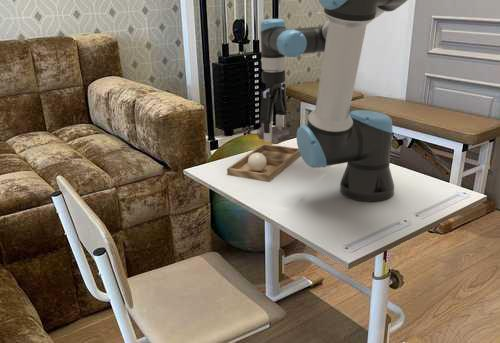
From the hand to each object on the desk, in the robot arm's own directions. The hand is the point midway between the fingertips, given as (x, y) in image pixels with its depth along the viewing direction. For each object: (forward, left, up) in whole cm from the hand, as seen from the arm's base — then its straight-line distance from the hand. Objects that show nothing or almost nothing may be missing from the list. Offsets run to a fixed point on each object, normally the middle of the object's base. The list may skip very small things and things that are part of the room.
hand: (274, 137), depth 166 cm
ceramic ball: (0, +13, -7) cm, 15 cm away
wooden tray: (0, +7, -8) cm, 10 cm away
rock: (0, 0, -1) cm, 1 cm away
